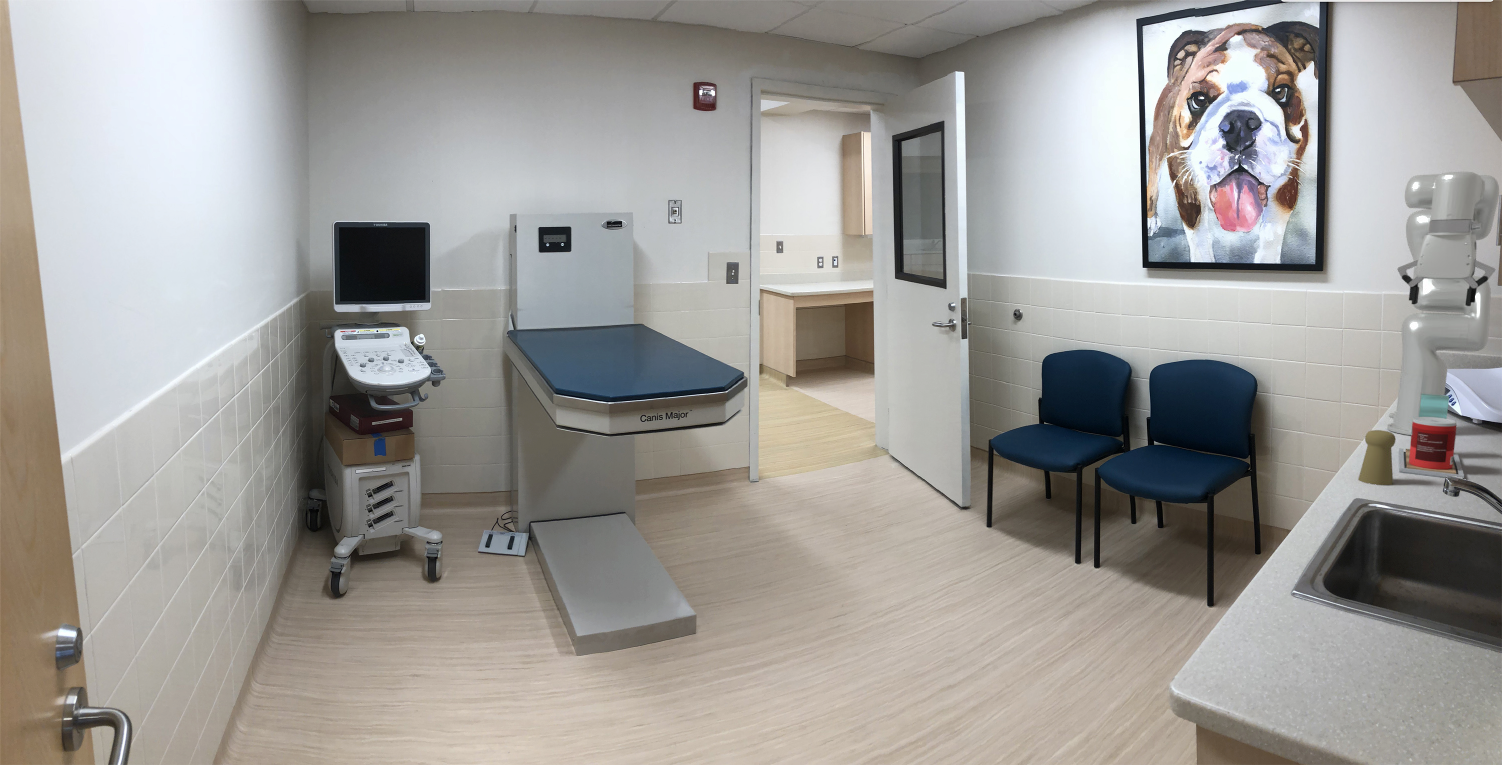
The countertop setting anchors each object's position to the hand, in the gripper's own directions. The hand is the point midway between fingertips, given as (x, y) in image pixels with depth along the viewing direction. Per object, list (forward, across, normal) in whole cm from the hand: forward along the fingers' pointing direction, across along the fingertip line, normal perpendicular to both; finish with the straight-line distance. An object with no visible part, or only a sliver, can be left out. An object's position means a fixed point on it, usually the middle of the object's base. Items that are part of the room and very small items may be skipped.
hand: (1440, 304), depth 195 cm
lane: (+36, -2, +6) cm, 37 cm away
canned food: (+36, -3, +10) cm, 38 cm away
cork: (+37, +4, +30) cm, 47 cm away
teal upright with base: (+36, -2, +5) cm, 36 cm away
